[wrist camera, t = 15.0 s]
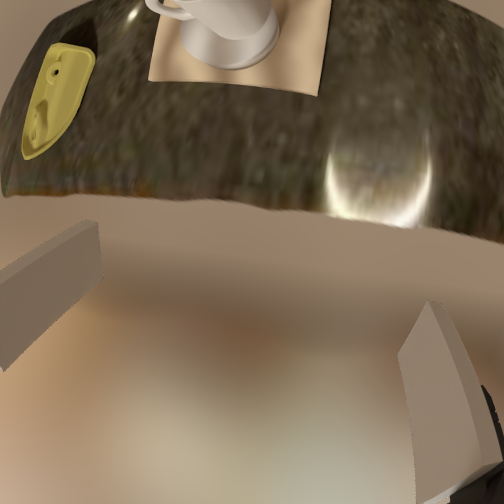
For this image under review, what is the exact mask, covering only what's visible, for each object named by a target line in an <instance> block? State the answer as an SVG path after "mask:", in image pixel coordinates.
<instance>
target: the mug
mask: <svg viewBox="0 0 504 504" xmlns="http://www.w3.org/2000/svg"><path fill="white" fill-rule="evenodd" d="M172 1H173V2H174V3H176V4H177V5H179V6H180V7H182V8H173V7H168V6H165V5H163V4H161V3H159V1H158V0H145V2H146V5H147V6H148V7H149V8H150V9H151V10H153V11H154V12H157V13H159V14H162V15H165V16H168V17H172V18H176V19H179V20H183V21H184V20H189V19H195V18H197V19H198V20H200V21H201V22H202V23H203V24H205V25H206V26H207V27H208V28H210V29H211V30H212V31H214V32H215V33H216V34H218V35H219V36H221V37H223V38H226V39H231V40H240V39H245V38H248V37H250V36H252V35H254V34H256V33H257V32H258V31H259V30H260V29H261V28H262V27H263V25H264V24H265V21H266V17H267V13H266V9H265V6H264V3H263V0H172Z"/></svg>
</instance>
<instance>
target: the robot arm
mask: <svg viewBox="0 0 504 504" xmlns="http://www.w3.org/2000/svg"><path fill="white" fill-rule="evenodd" d="M103 279H104V276H103V268H102V260H101V251H100V241H99V230H98V223H97V222H93V221H89V220H84V221H82V222H80V223H78V224H76V225H74V226H73V227H71V228H69V229H67V230H66V231H64V232H62V233H60V234H58V235H57V236H55V237H53V238H51V239H50V240H48V241H46V242H45V243H43V244H41V245H40V246H38V247H36V248H35V249H33V250H31V251H30V252H28V253H27V254H25V255H23V256H22V257H20V258H19V259H17V260H16V261H14V262H13V263H11V264H9V265H8V266H6V267H5V268H3V269H2V270H0V369H1V370H2V371H3V372H4V371H6V369H7V368H8V367H9V366H10V365H11V364H12V363H13V362H14V361H15V360H16V359H17V358H18V357H19V356H20V355H21V354H22V353H23V352H24V351H25V350H26V349H27V348H28V347H29V346H30V345H31V344H32V343H33V342H34V341H35V340H36V339H37V338H38V337H39V336H40V335H42V334H43V333H44V332H45V331H46V330H47V329H48V328H49V327H50V326H51V325H52V324H53V323H54V322H55V321H57V319H59V318H60V317H61V316H62V315H63V314H64V313H65V312H66V311H67V310H69V309H70V308H71V307H72V306H73V305H74V304H75V303H76V302H78V301H79V300H80V299H81V298H82V297H83V296H84V295H86V294H87V293H88V292H89V291H90V290H91V289H93V288H94V287H95V286H96V285H97V284H98V283H100V282H101V281H102V280H103ZM398 359H399V364H400V368H401V373H402V378H403V383H404V389H405V395H406V400H407V407H408V413H409V419H410V428H411V436H412V444H413V454H414V466H415V482H416V504H434V503H438V502H440V501H441V500H443V499H445V498H447V497H449V496H450V502H449V503H447V504H504V435H503V432H502V428H501V425H500V423H498V421H499V419H498V415H497V413H496V412H495V406H494V404H493V401H492V398H491V396H490V395H489V393H488V392H487V390H486V389H485V388H484V386H483V385H480V383H479V380H478V378H477V375H476V373H475V370H474V368H473V366H472V363H471V361H470V358H469V356H468V354H467V351H466V349H465V347H464V345H463V343H462V340H461V338H460V336H459V334H458V332H457V330H456V328H455V326H454V324H453V322H452V320H451V318H450V316H449V314H448V312H447V310H446V308H445V306H444V304H442V303H437V302H433V301H427V302H426V304H425V306H424V308H423V310H422V312H421V314H420V316H419V318H418V320H417V322H416V323H415V325H414V327H413V329H412V331H411V333H410V334H409V336H408V338H407V339H406V341H405V343H404V345H403V346H402V348H401V350H400V351H399V353H398Z"/></svg>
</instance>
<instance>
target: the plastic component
mask: <svg viewBox="0 0 504 504" xmlns="http://www.w3.org/2000/svg"><path fill="white" fill-rule="evenodd" d="M94 65H95V55H94V53H93V52H92V51H91V50H90V49H88V48H84V47H80V46H75V45H70V44H65V43H57V44H53V45H51V47H50V48H49V50H48V52H47V54H46V56H45V59H44V62H43V64H42V67H41V70H40V73H39V75H38V78H37V81H36V85H35V88H34V91H33V94H32V98H31V101H30V105H29V109H28V113H27V117H26V121H25V126H24V131H23V137H22V154H23V157H24V159H25V160H29V159H32V158H34V157H36V156H37V155H39V154H41V153H42V152H44V151H45V150H46V149H48V148H49V147H50V146H51V145H52V144H53V143H54V142H55V141H56V140H57V139H58V138H59V137H60V136H61V135H62V134H63V133H64V131H65V130H66V129H67V128H68V126H69V125H70V123H71V121H72V120H73V118H74V116H75V114H76V112H77V110H78V108H79V106H80V103H81V100H82V97H83V94H84V91H85V88H86V85H87V83H88V80H89V77H90V75H91V72H92V70H93V67H94ZM57 70H59V73H58V74H57V75H55V73H56V71H57Z"/></svg>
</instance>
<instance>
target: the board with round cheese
mask: <svg viewBox="0 0 504 504" xmlns="http://www.w3.org/2000/svg"><path fill="white" fill-rule="evenodd" d="M263 3H264V6H265V9H266V13H267V17H266V21H265V24H264V25H263V27H262V28H261V29H260V30H259V31H258V32H257V33H256V34H254V35H252V36H250V37H248V38H245V39H240V40H231V39H226V38H223V37H221V36H219V35H218V34H216V33H215V32H214V31H212V30H211V29H210V28H208V27H207V26H206V25H205V24H203V23H202V22H201V21H200V20H198V19H197V18H195V19H189V20H184V21H183V20H179V19H176V18H172V17H168V16H165V15H162V14H161V16H160V20H159V25H158V29H157V34H156V39H155V44H154V49H153V54H152V60H151V66H150V72H149V78H148V80H149V81H192V82H215V83H229V84H240V85H250V86H258V87H266V88H273V89H280V90H286V91H292V92H298V93H304V94H309V95H314V96H317V94H318V88H319V82H320V76H321V69H322V63H323V57H324V50H325V43H326V36H327V30H328V22H329V15H330V8H331V0H263ZM163 5H165V6H168V7H173V8H182V7H180V6H179V5H177V4H176V3H174V2H173V1H172V0H164V4H163Z"/></svg>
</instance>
